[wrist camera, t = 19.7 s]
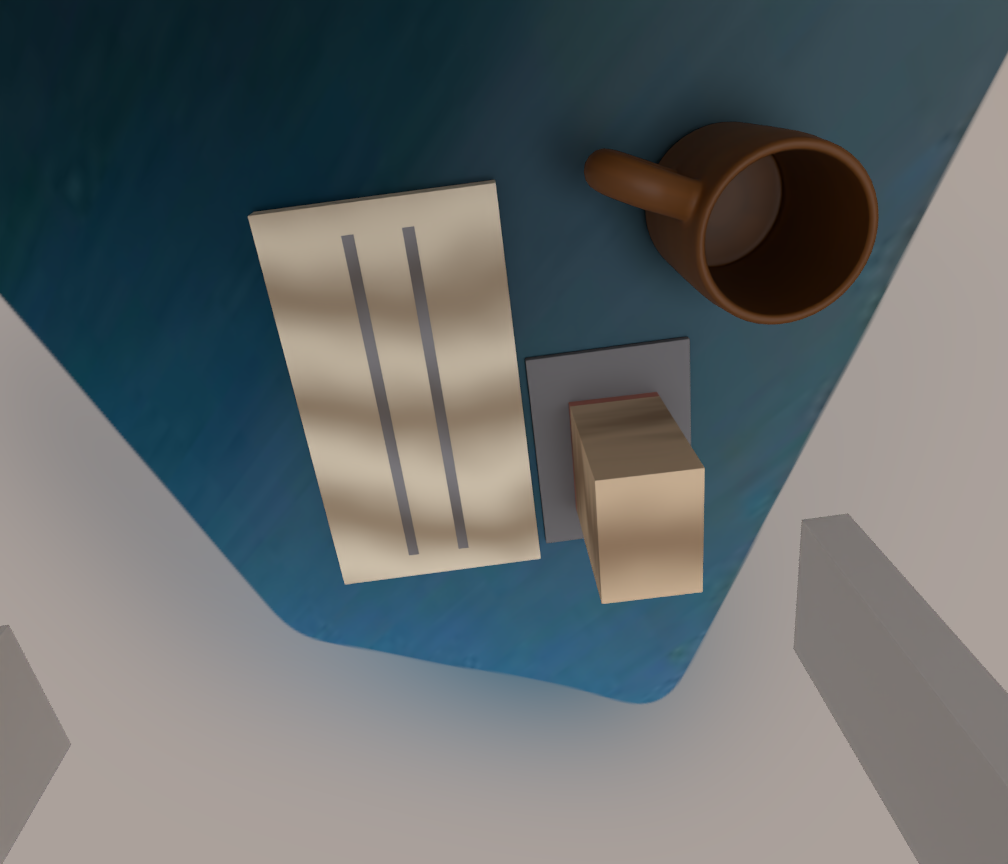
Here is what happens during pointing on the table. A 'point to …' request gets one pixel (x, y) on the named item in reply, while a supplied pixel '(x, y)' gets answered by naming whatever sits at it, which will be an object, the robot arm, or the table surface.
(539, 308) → the table surface
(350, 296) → the board
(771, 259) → the mug
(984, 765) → the robot arm
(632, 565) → the block
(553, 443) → the mat
